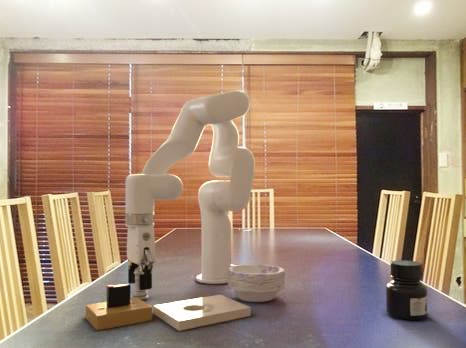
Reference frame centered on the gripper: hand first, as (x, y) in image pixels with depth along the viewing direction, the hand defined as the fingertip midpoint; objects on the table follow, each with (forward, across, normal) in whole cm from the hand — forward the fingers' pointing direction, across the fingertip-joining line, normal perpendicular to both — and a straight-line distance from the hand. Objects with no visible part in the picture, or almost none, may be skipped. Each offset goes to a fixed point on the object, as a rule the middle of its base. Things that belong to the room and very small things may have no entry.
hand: (139, 285), depth 114 cm
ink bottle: (+4, -49, -46) cm, 67 cm away
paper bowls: (+4, -17, -26) cm, 31 cm away
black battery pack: (+1, -14, +10) cm, 17 cm away
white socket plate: (+3, -22, -7) cm, 23 cm away
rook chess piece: (+4, 0, 0) cm, 4 cm away
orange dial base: (+4, -14, +10) cm, 18 cm away
